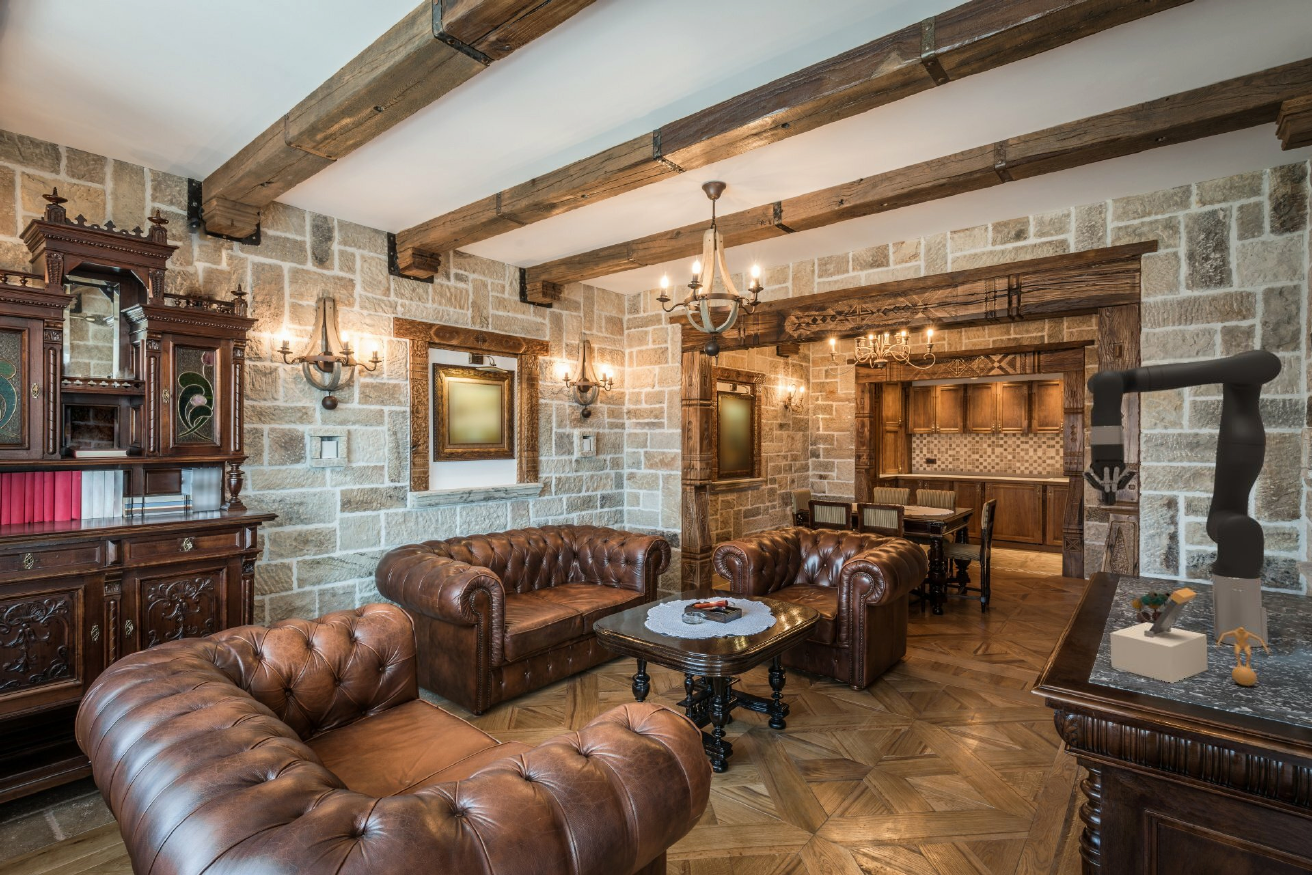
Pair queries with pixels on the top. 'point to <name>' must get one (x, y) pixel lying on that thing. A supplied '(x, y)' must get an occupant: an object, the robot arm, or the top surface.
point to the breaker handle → (1172, 610)
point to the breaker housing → (1159, 652)
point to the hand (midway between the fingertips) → (1109, 505)
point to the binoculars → (1150, 605)
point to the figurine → (1245, 673)
